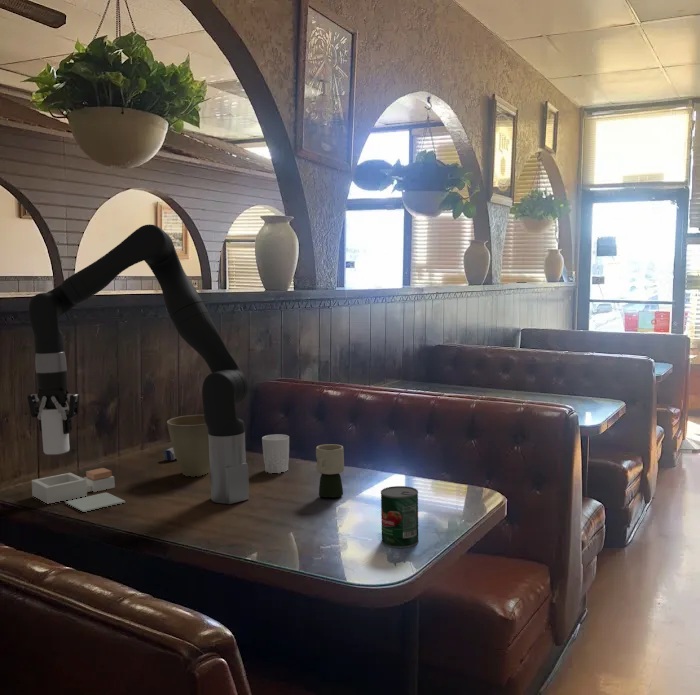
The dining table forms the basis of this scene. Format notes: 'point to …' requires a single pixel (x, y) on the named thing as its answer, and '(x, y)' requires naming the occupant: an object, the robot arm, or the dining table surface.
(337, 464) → the character mug
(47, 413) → the can
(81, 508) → the pad
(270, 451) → the white cup
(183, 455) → the plant pot
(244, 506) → the dining table surface
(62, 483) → the white piece
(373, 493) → the dining table surface
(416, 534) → the canned tomato
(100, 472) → the light brown square block
